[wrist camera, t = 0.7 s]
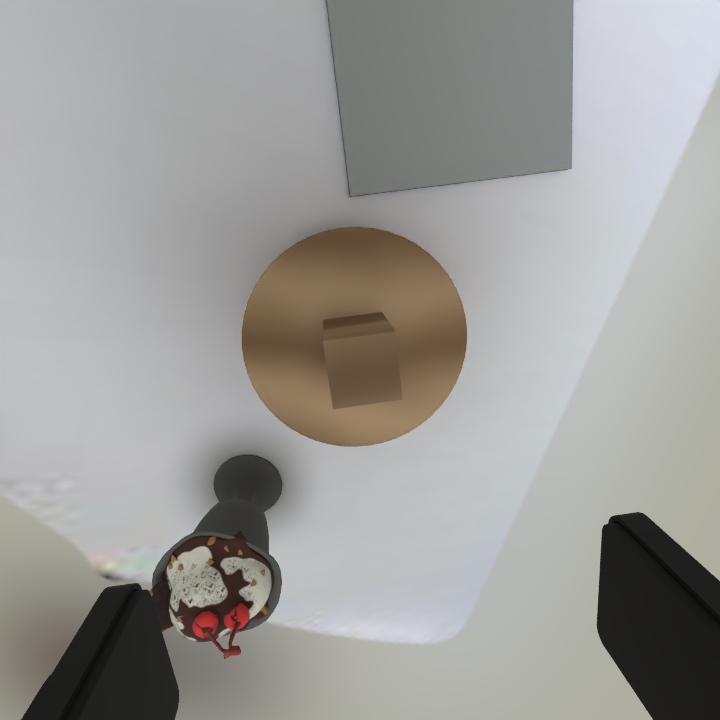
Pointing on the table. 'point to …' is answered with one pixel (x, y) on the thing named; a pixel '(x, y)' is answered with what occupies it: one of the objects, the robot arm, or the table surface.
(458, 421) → the table surface
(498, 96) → the mat
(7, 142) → the table surface
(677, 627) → the robot arm
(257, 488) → the sundae
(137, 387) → the table surface
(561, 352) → the table surface
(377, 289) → the lid
